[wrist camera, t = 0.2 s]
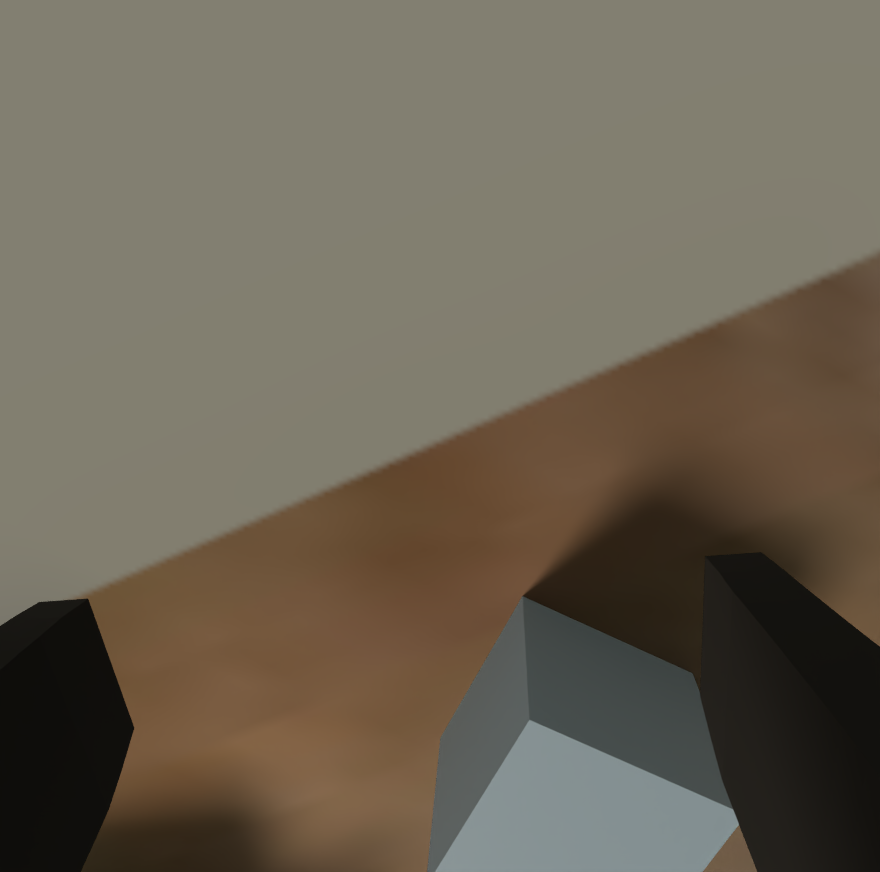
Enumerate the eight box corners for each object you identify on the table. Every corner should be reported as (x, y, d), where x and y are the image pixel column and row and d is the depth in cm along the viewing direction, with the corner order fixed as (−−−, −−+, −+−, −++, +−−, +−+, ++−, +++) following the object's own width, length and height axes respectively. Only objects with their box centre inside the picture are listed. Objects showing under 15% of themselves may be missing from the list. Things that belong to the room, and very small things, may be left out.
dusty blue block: (599, 804, 23) (625, 970, 19) (440, 736, 23) (425, 886, 18) (692, 671, 22) (746, 815, 17) (522, 594, 21) (529, 719, 17)
